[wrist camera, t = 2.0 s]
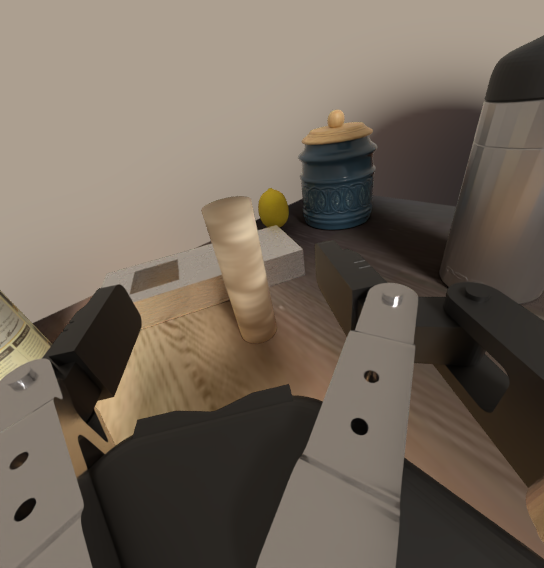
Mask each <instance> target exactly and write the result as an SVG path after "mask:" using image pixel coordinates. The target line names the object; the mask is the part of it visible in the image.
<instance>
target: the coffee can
mask: <svg viewBox="0 0 544 568" xmlns="http://www.w3.org/2000/svg"><path fill="white" fill-rule="evenodd" d="M51 345H52V343H51V342H50V341H49V340H48V339H47V338H46V337H45V336H44V335H43V334H42V333H41V332H40V331H39V330H38V329H37V328H36V327H35V326H34V325H33V324H32V323H31V322H30V321H29V320H28V318H27V317H26V316H25V315H24V314H23V313H22V312H21V311H20V310H19V309H18V308H17V307H16V306H15V305H14V304H13V303H12V302H11V301H10V300H9V299H8V298H7V297H6V296H5V295H4V294H3V293H2V292H1V290H0V380H1V379H2V378H3V377H5V376H6V375H7V374H8V373H10V372H11V371H13V370H14V369H16V368H17V367H19V366H21V365H23V364H25V363H27V362H30V361H33V360H36V359H42V357H43V356H44V355H45V353H46V352H47V351H48V349H49V348H50V347H51Z"/></svg>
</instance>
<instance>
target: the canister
mask: <svg viewBox="0 0 544 568" xmlns="http://www.w3.org/2000/svg"><path fill="white" fill-rule="evenodd" d="M372 132H373V130H372V129H370V128H369V127H366V126H365V125H364V123H361V122H353V123H344V114H343V112H342V111H340V110H334V111H332V112H331V113H330V114H329V116H328V126H325V127H321V128H317V129H314V130H311V131H310V133H309V134H308V135H307V136H306V137H305V138H304V139H303V140H302V143H303V144H305V148H304V151H303V152H302V153H301V154H300V155H299V156H298V159H299V160H300V161H301V162H302V174H301V175H300V179H301V184H302V195H303V215H304V217H305V222H306V223H307V224H308V225H310V226H312V227H315V228H318V229H326V230H338V229H346V228H351V227H355V226H358V225H360V224H362V223H364V222H366V221H367V220H368V219H369V218H370V216H371V212H372V209H373V207H372V206H373V201H372V196H373V181H374V172H375V166H374V165H373V153H374V152H375V151H376V149H377V145H376V144H375V143H373V142H371V140H370V137H369V135H370V134H372Z"/></svg>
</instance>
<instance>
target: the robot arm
mask: <svg viewBox="0 0 544 568" xmlns="http://www.w3.org/2000/svg"><path fill="white" fill-rule="evenodd" d="M485 100H486V101H485V102H484V104H483V107H482V111H481V115H480V119H479V122H478V126H477V130H476V134H475V138H474V142H473V146H472V150H471V153H470V157H469V161H468V165H467V168H466V172H465V176H464V180H463V184H462V187H461V191H460V195H459V199H458V202H457V206H456V210H455V214H454V217H453V221H452V225H451V229H450V233H449V236H448V240H447V244H446V248H445V252H444V256H443V259H442V263H441V267H440V271H439V274H440V277H441V279H442V281H443V282H444V283H445V284H446V285H447V286H448V287H449V288H448V290H447V293H446V297H418V296H417V294H416V293H415V292H414V291H413V290H412V289H410V288H408V287H406V286H404V285H400V284H396V283H387V282H386V281H385V280H384V279H383V278H382V277H381V276H380V275H379V274H378V273H377V272H376V271H375V270H374V269H373V268H372V267H371V266H370V265H369V264H368V263H367V262H366V261H365V260H364V259H363V258H362V257H361V256H360V255H359V254H358V253H356V252H354V251H352V250H349V249H344V250H342V249H341V248H340V247H339V245H338V244H337V243H336V242H335V241H334V240H331V241H326V242H321V243H317V244H315V265H316V278H317V283H318V286H319V289H320V291H321V292H322V294H323V296H324V298H325V300H326V301H327V303H328V305H329V307H330V308H331V310H332V312H333V314H334V315H335V317H336V319H337V321H338V322H339V324H340V326H341V328H342V329H343V331H344V333H345V335H346V337H347V339H346V341H345V344H344V347H343V349H342V352H341V355H340V358H339V360H338V363H337V366H336V368H335V371H334V374H333V376H332V379H331V382H330V384H329V387H328V390H327V392H326V395H325V398H324V401H320V400H317V399H314V398H310V397H304V396H293V395H292V394H291V390H290V386H289V384H287V385H283V386H279V387H275V388H270V389H266V390H262V391H258V392H253V393H251V394H249V395H247V396H245V397H243V398H241V399H239V400H237V401H235V402H233V403H231V404H229V405H227V406H225V407H223V408H221V409H219V410H216V411H211V412H205V411H173V412H169V413H165V414H160V415H156V416H152V417H148V418H143V419H139V420H137V424H136V427H135V431H134V434H133V435H132V436H130V437H128V438H127V439H125V440H123V441H122V442H120V443H119V444H117V445H116V446H115V443H114V441H113V439H112V437H111V435H110V433H109V431H108V429H107V427H106V424H105V422H104V420H103V418H102V416H101V414H100V412H99V410H98V409H97V408H96V407H95V405H96V403H97V401H98V400H103V399H107V398H111V397H114V395H115V393H116V390H117V388H118V385H119V383H120V380H121V378H122V375H123V373H124V370H125V368H126V365H127V362H128V360H129V357H130V355H131V352H132V350H133V347H134V345H135V342H136V340H137V337H138V335H139V332H140V329H141V326H142V320H141V316H140V313H139V312H138V310H137V308H136V306H135V305H134V303H133V301H132V299H131V298H130V296H129V294H128V293H127V291H126V289H125V288H124V287H123V286H122V285H120V284H118V285H113V286H108V287H103V288H99V289H98V290H97V291H96V293H95V294H94V295H93V296H92V298H91V299H90V301H89V302H88V303H87V304H86V305H85V306H84V307H83V308H81V309H80V310H79V311H78V312H77V313H76V314H75V315H74V316H73V318H72V319H71V320H70V322H69V323H70V324H67V326H66V327H65V328H64V330H63V332H61V334H60V335H59V336H58V338H57V339H56V340H55V342H54V343H53V344H52V345H51V347H50V348H49V349H48V351H47V352H46V353H45V355H44V356H43V357H42V359H36V360H33V361H30V362H27V363H25V364H23V365H21V366H19V367H17V368H16V369H14V370H13V371H11V372H10V373H8V374H7V375H6V376H5V377H3V378H2V379H1V380H0V568H544V559H543V558H542V557H540V556H539V555H538V554H536V553H535V552H534V551H532V550H531V549H530V548H528V547H527V546H526V545H524V544H523V543H521V542H520V541H519V540H517V539H516V538H515V537H513V536H512V535H510V534H509V533H508V532H506V531H505V530H503V529H502V528H501V527H499V526H498V525H497V524H495V523H494V522H492V521H491V520H490V519H488V518H487V517H486V516H484V515H483V514H481V513H480V512H479V511H477V510H476V509H475V508H473V507H472V506H470V505H469V504H468V503H466V502H465V501H464V500H462V499H461V498H459V497H458V496H457V495H455V494H454V493H452V492H451V491H450V490H448V489H447V488H446V487H444V486H443V485H441V484H440V483H439V482H437V481H436V480H435V479H433V478H432V477H430V476H429V475H428V474H426V473H425V472H424V471H422V470H421V469H419V468H418V467H417V466H415V465H414V464H413V463H411V462H410V461H408V460H407V459H406V458H404V454H405V444H406V434H407V425H408V415H409V405H410V395H411V386H412V376H413V366H414V363H424V364H433V365H434V366H435V368H436V369H437V370H438V371H439V373H440V374H441V375H442V377H443V378H444V379H445V380H446V382H447V383H448V384H449V386H450V387H451V388H452V390H453V391H454V392H455V393H456V395H457V396H458V397H459V399H460V400H461V401H462V403H463V404H464V405H465V406H466V408H467V409H468V410H469V412H470V413H471V414H472V416H473V417H474V418H475V419H476V421H477V422H478V423H479V425H480V426H481V427H482V429H483V430H484V431H485V432H486V434H487V435H488V436H489V438H490V439H491V440H492V441H493V443H494V444H495V445H496V447H497V448H498V449H499V451H500V452H501V453H502V454H503V456H504V457H505V458H506V460H507V461H508V462H509V464H510V465H511V466H512V467H513V469H514V470H515V471H516V473H517V474H518V475H519V477H520V478H521V479H522V480H523V482H524V483H525V484H526V486H527V487H528V490H527V493H526V506H527V509H528V512H529V515H530V517H531V519H532V521H533V523H534V525H535V527H536V530H537V533H538V535H539V537H540V538H541V540H542V541H543V543H544V321H543V320H542V319H540V318H539V317H537V316H536V315H534V314H533V313H531V312H530V311H528V310H527V309H526V308H524V307H523V306H521V305H520V304H521V303H526V302H530V301H532V300H535V299H537V298H538V297H539V296H540V295H541V294H542V293H543V291H544V36H542V37H540V38H538V39H536V40H534V41H532V42H530V43H528V44H526V45H523V46H521V47H519V48H517V49H515V50H514V51H512V52H510V53H508V54H507V55H506V56H504V57H503V58H501V59H500V61H499V62H498V63H497V64H496V66H495V68H494V70H493V72H492V75H491V78H490V81H489V85H488V89H487V92H486V97H485ZM486 351H487V352H488V353H489V354H490V355H491V356H492V357H493V358H494V359H495V360H496V361H497V362H498V363H500V364H501V366H502V367H503V368H504V369H505V371H506V372H507V374H508V376H507V375H506V374H505V373H504V372H503V371H502V370H501V369H500V368H499V367H498V366H497V365H496V364H495V363H494V362H492V361H491V360H490V359H489V358H488V357H487V356H486V355H485V352H486Z"/></svg>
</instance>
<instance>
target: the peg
mask: <svg viewBox="0 0 544 568" xmlns="http://www.w3.org/2000/svg"><path fill="white" fill-rule="evenodd" d="M201 211H202V214H203V217H204V220H205V223H206V227H207V230H208V233H209V236H210V239H211V242H212V245H213V248H214V252H215V255H216V258H217V261H218V264H219V267H220V270H221V273H222V276H223V280H224V283H225V286H226V289H227V292H228V295H229V298H230V301H231V305H232V308H233V311H234V314H235V317H236V320H237V323H238V326H239V329H240V333H241V336H242V338H243V339H244V340H245V341H247V342H249V343H254V344H257V343H263V342H265V341H267V340H269V339H271V338H272V337H273V336H274V334H275V333H276V330H277V326H276V321H275V316H274V311H273V306H272V301H271V296H270V291H269V286H268V281H267V276H266V271H265V266H264V261H263V256H262V251H261V246H260V241H259V236H258V231H257V226H256V221H255V216H254V211H253V207H252V202H251V199H250V198H249V197H244V196H236V197H228V198H224V199H220V200H216V201H214V202H211V203H209V204H208V205H206V206H204V207H203V208H202V210H201Z"/></svg>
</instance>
